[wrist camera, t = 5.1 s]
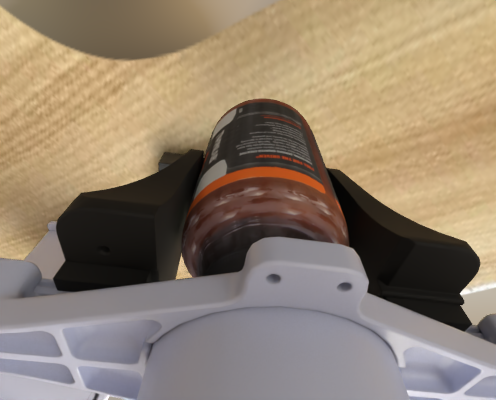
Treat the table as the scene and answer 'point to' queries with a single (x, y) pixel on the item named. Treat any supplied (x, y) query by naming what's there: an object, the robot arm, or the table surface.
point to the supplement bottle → (258, 189)
